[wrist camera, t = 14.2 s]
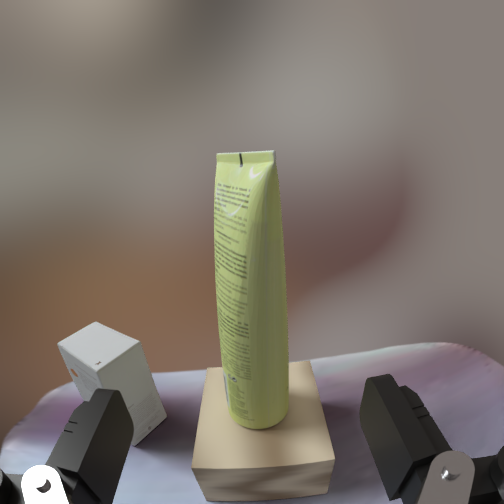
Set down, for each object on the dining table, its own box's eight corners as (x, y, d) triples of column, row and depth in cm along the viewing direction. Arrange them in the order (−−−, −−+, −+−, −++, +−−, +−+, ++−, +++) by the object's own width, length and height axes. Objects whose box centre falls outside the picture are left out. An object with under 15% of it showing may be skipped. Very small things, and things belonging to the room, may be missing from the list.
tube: (303, 395, 24) (299, 147, 18) (285, 439, 20) (274, 147, 14) (242, 384, 26) (217, 153, 20) (217, 422, 22) (172, 157, 16)
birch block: (206, 500, 19) (191, 467, 17) (216, 408, 31) (207, 367, 29) (326, 493, 19) (335, 459, 17) (308, 402, 31) (309, 360, 29)
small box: (168, 418, 29) (142, 340, 26) (134, 448, 25) (96, 372, 21) (122, 391, 33) (96, 319, 30) (90, 415, 29) (55, 342, 25)
